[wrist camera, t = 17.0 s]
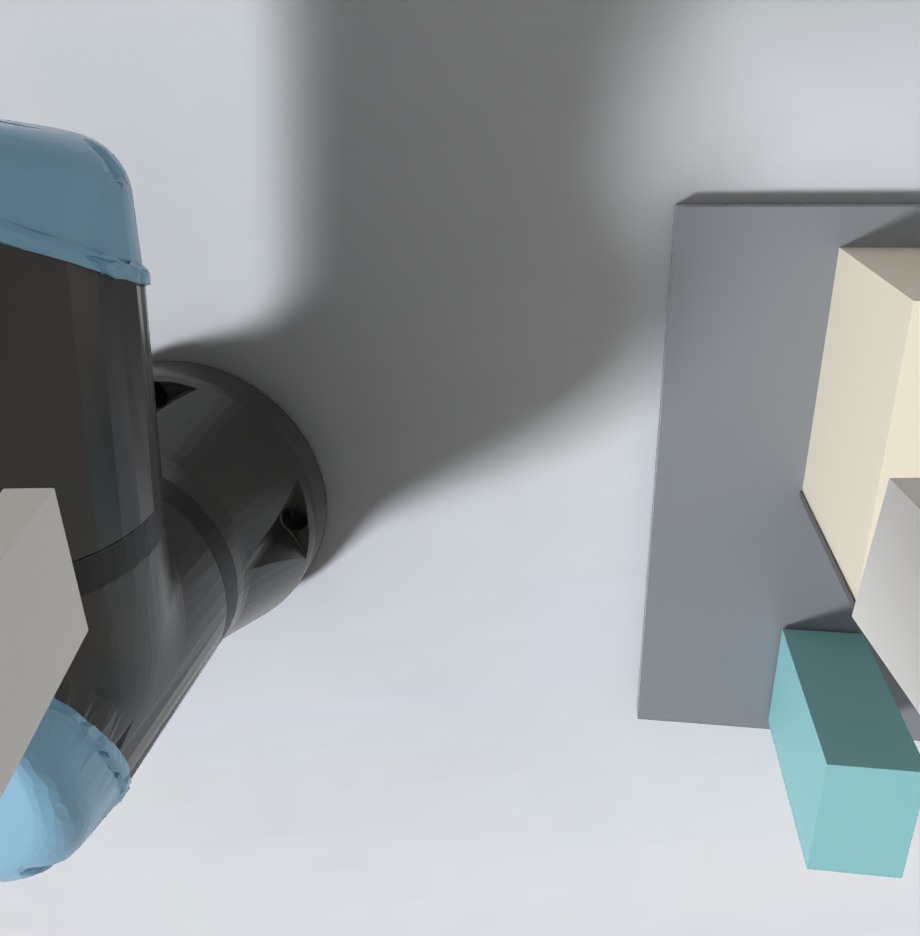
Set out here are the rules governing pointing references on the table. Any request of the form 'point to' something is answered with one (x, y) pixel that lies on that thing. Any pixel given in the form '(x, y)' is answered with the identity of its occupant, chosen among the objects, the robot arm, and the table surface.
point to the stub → (844, 754)
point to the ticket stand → (774, 442)
